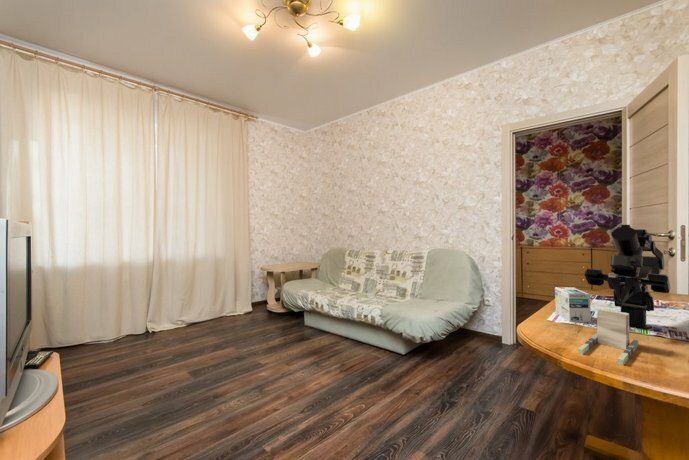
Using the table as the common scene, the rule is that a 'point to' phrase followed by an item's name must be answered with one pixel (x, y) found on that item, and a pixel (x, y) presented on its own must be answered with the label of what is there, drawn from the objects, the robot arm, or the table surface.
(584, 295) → the light bulb box
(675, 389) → the table surface
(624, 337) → the cream block
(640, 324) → the robot arm
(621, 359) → the channel
